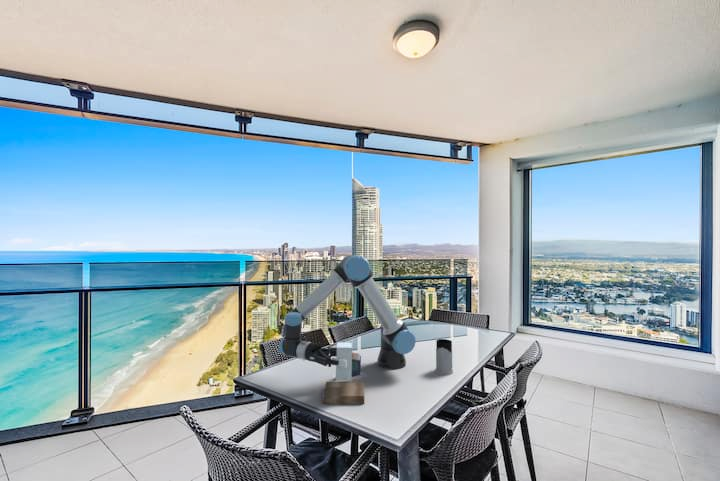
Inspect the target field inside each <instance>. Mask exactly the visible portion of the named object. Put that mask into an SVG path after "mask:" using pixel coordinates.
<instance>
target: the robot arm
mask: <svg viewBox="0 0 720 481" xmlns="http://www.w3.org/2000/svg"><path fill="white" fill-rule="evenodd" d="M331 272H332V273H331V274H330V275H328V276H327V278H326V279H324V280H323V281H322V282H321V283H320V284H319V285H318V286H317V287H316V288H315V289H314V290H313V291H311V293H309V294H308V295H307V296H306V297H305V298H303V300H302V301H301V302H299V303H298V304H297V305H296V307H294V308H293V309H292V310H291V311H289V312H287V313H285V315H284V337H283V338H282V339H281V340H280V342H279V345H278V352H279V353H280V355H283V356H286V357H287V358H289V357H290V358H295V359H300V360H302V361H308V362H313V363H317V364H319V365H322V366H324V367H327V366H328V368H331V367H332V366H339V367H344V368H346V367H347V360H343V359H338V358H336V357H337V347H331V346H328V347H326V348H325V347H321V345H320V344H319V343H316V342H310V341H305V340H302V324H303V322H304V321H305V320H306V318H308V317H309V316H310V315H311V314H312V313H313V312H314V311H315V310H316V309H317V308H318V307H319V306H320V305H321V304H322V303H324V302H325V300H327V299H328V298H329V297H330V296H331V295H332V294H333V293H334V292H335V291H336V290H337V289H338V288H339V287H340V286H341V285H344V284H345V285H346V283H348V282H350V284H351V286H352V287H353V288H354V289H358V290H359V292H360V294H361V296H362V297H363V298H364V301H366V303H367V305H368V306H369V308H370V310H371V311H372V313H373V315H374V316H375V317H376V319H377V321H378V322H379V323H380V349H379V350H380V351H379V354H378V356H377V360H376V362H377V366H379V367H381V368H384V369H388V370H389V369H390V370H397V369H402V368H404V367H406V365H407V362H406V361H407V360H406V357H405V355H407V354H409V353H411V352H412V351H413V350H414V348H415V346H416V342H417V341H416V335H415V334H414V333H413V332H412V331H411V330H409V328H408V327H407V325H406V324H405V322H404V320H403V319H400V318H399V317H398V316H397V315H396V314H395V312H394V310H393V309H392V307H391V305H390V303H389V302H388V301H387V299H386V298H385V296H384V294H383V293H382V291H381V290H380V288H379V286H378V285H377V282H375V280H374V277H375V276H374V275H375V274H374V272H373V271H372V269H371V265H370V263H369V261H368V259H366V257H364V256H361V255H359V254H352V255H348V256H345V257H344V258H343V259H342V260H341V261H340V262H339V263H338V264H337V265H336V266H335V267H334V268H333V269H332V271H331ZM360 356H361V353H360V352H354V351H352V359H355V360H360Z"/></svg>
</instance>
